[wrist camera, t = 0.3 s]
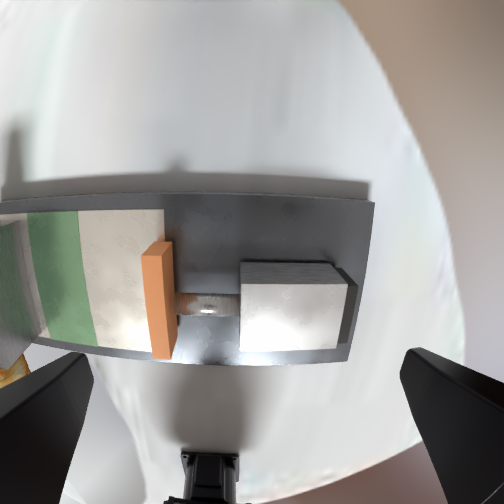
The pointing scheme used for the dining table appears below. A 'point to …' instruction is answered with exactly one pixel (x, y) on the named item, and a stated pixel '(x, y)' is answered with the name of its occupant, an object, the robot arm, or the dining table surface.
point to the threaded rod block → (283, 306)
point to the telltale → (160, 298)
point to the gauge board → (184, 267)
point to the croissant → (14, 371)
